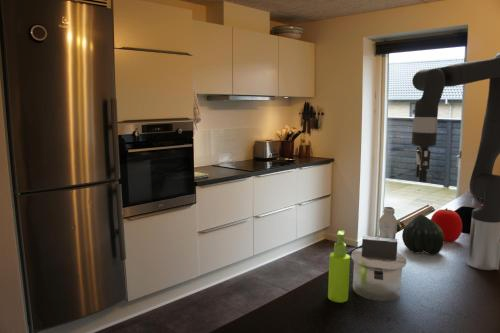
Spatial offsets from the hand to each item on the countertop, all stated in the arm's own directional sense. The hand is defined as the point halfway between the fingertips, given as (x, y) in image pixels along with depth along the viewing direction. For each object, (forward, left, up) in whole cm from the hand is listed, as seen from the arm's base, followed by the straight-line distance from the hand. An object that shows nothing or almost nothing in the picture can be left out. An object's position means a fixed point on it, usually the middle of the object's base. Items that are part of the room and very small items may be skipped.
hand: (420, 179), depth 139 cm
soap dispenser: (+24, +28, -32) cm, 49 cm away
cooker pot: (+13, +20, -32) cm, 40 cm away
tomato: (-16, -38, -32) cm, 52 cm away
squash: (-5, -21, -32) cm, 39 cm away
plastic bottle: (+9, -6, -32) cm, 34 cm away
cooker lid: (+13, +20, -22) cm, 32 cm away
